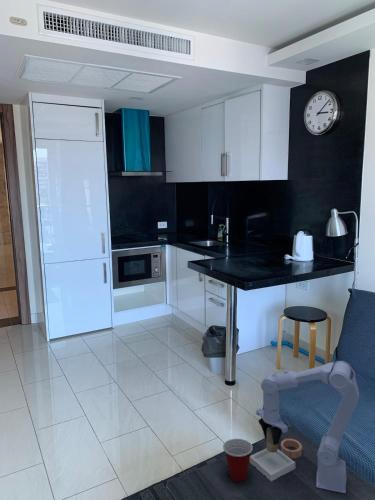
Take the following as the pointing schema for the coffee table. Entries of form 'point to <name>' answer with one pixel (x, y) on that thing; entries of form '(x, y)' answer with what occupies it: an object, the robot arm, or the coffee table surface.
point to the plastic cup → (238, 457)
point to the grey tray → (272, 463)
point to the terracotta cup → (291, 443)
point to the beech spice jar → (270, 440)
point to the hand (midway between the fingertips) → (271, 440)
